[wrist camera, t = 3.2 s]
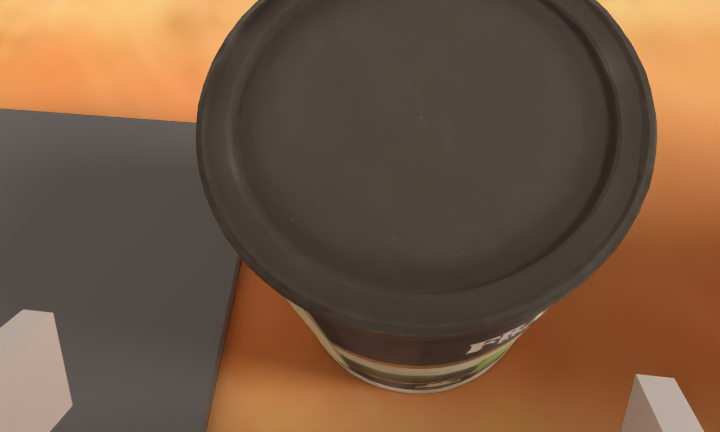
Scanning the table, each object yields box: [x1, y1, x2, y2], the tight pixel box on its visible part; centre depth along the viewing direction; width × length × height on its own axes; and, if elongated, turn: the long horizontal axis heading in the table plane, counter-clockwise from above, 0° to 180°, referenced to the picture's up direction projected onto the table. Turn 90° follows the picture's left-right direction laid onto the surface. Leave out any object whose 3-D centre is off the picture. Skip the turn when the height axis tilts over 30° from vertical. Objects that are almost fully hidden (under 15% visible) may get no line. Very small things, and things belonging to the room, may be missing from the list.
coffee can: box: [196, 0, 657, 393], centre depth 20 cm, size 10×10×14 cm
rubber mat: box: [0, 109, 242, 432], centre depth 27 cm, size 20×18×1 cm
